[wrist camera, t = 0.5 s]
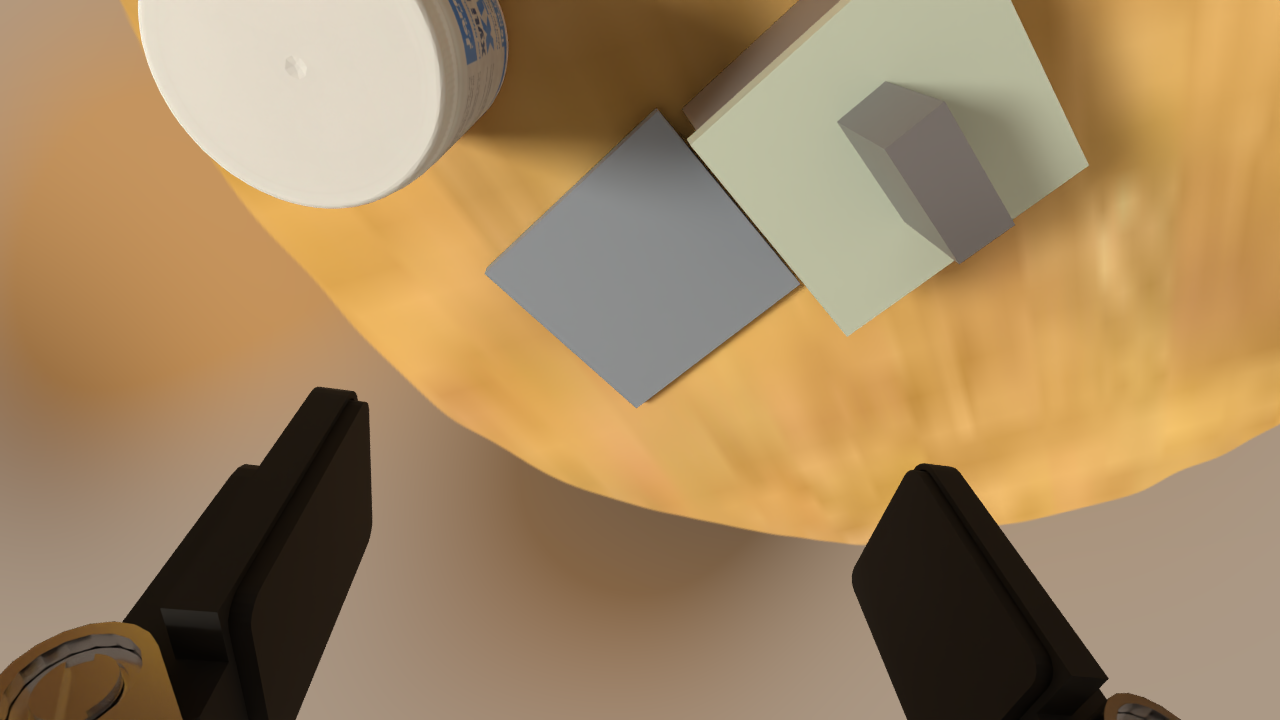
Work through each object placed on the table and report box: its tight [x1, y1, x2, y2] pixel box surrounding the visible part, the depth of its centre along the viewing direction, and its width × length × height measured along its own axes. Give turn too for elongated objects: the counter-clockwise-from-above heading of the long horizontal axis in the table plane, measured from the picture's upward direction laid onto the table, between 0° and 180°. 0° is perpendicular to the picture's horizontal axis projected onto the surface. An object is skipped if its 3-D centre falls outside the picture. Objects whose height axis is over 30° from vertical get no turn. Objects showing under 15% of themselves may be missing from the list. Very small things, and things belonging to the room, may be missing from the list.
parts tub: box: [682, 0, 840, 130], centre depth 32 cm, size 12×12×8 cm
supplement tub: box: [138, 0, 508, 208], centre depth 26 cm, size 10×10×15 cm
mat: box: [485, 108, 800, 408], centre depth 39 cm, size 14×14×1 cm
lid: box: [687, 0, 1089, 336], centre depth 26 cm, size 13×13×7 cm
